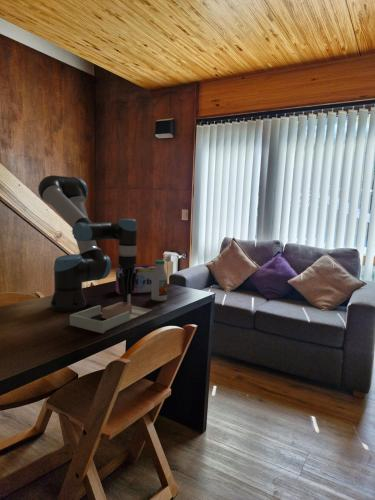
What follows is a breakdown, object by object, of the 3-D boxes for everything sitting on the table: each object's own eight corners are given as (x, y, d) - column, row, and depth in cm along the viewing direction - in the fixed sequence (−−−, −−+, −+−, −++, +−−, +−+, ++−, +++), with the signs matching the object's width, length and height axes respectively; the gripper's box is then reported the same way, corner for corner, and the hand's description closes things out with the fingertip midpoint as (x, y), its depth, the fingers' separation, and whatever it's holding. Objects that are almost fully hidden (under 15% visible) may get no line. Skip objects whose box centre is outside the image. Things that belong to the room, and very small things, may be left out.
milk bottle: (152, 301, 170) (153, 261, 167) (150, 297, 177) (151, 259, 175) (168, 301, 172) (169, 261, 169) (164, 297, 179) (166, 259, 177)
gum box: (157, 288, 199) (157, 265, 197) (161, 291, 191) (162, 267, 190) (115, 290, 189) (115, 266, 188) (118, 294, 182) (118, 269, 181)
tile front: (111, 314, 147) (111, 305, 146) (122, 316, 144) (123, 307, 143) (101, 317, 141) (101, 308, 141) (113, 320, 139) (113, 310, 138)
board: (124, 305, 162) (124, 304, 162) (152, 310, 155) (152, 309, 155) (99, 314, 147) (99, 313, 147) (129, 321, 140) (129, 320, 140)
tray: (98, 314, 147) (98, 305, 147) (129, 321, 140) (130, 311, 139) (69, 324, 133) (69, 314, 133) (102, 333, 126) (102, 322, 125)
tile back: (120, 310, 152) (120, 301, 151) (131, 313, 149) (131, 304, 149) (111, 314, 147) (111, 305, 146) (123, 316, 144) (123, 307, 143)
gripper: (129, 252, 156) (128, 303, 158) (110, 255, 144) (110, 310, 147) (143, 254, 152) (142, 306, 155) (125, 257, 141) (124, 313, 144)
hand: (126, 308), depth 151 cm, fingers closed
